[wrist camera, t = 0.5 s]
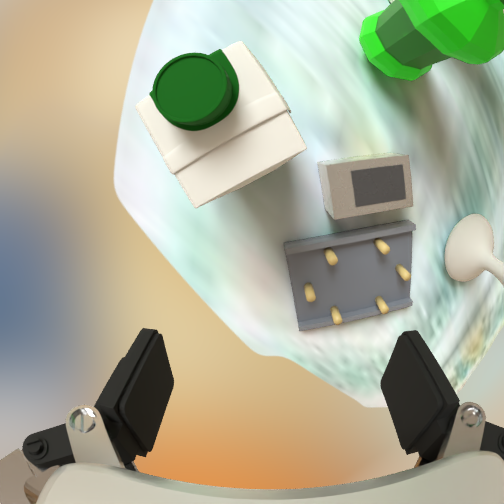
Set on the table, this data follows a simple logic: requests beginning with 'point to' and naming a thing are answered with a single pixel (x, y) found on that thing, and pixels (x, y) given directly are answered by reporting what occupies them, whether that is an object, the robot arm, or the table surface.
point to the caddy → (351, 274)
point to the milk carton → (219, 122)
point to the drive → (365, 184)
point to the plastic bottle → (432, 34)
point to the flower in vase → (472, 250)
